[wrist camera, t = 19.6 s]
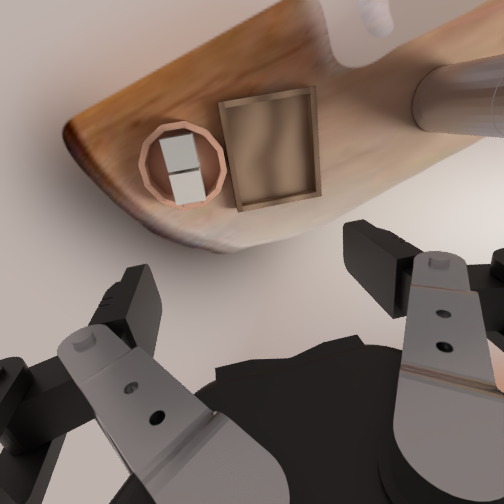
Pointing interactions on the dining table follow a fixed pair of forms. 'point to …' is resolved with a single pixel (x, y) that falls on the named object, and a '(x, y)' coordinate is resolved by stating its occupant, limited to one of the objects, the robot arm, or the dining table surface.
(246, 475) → the robot arm
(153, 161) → the bowl
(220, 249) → the dining table surface
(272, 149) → the tray
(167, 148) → the light grey block
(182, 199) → the white rectangular block
